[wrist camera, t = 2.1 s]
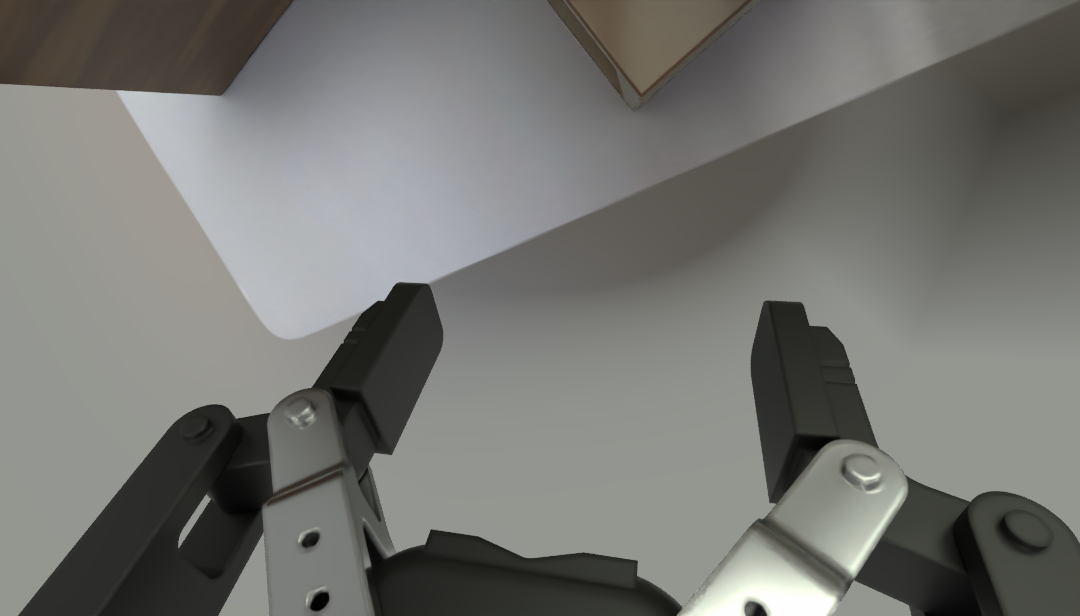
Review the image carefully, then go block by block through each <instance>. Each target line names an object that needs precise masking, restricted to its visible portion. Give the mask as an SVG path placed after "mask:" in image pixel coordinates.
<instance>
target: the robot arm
mask: <svg viewBox="0 0 1080 616" xmlns="http://www.w3.org/2000/svg"><path fill="white" fill-rule="evenodd" d="M442 343H443V329H442V325H441V321H440V318H439V314H438V311H437V308H436V304H435V301H434V298H433V294H432V291H431V288H430V286H429V285H428V284H426V283H405V282H398V283H397V284H395V286H394V287H393V288H392V290H391V292H390V293H389V295H388V296H387V298H386V299H385V301H377V302H376V303H375V304H373V305H372V306H371V307H370V308H368V309H367V310H366V311H364V312H363V313H362V314H361V316H360V317H359V319H358V320H357V322H356V323H355V325H354V326H353V327H352V331H351V332H349V333H348V335H347V336H346V338H345V339H344V343H343V344H341V345H340V347H339V348H338V350H337V351H336V353H335V354H334V355H333V357H332V359H331V360H330V361H329V363H328V364H327V366H326V367H325V369H324V370H323V372H322V373H321V375H320V376H319V378H318V379H317V381H316V382H315V384H314V385H313V387H312V388H308V389H303V390H300V391H297V392H295V393H292V394H291V395H289V396H287V397H286V398H284V399H283V400H281V401H280V402H279V403H278V404H277V405H276V406H275V408H274V409H273V410H272V412H271V413H266V414H260V415H255V416H249V417H244V418H238V419H236V418H235V417H234V415H233V414H232V413H231V411H230V410H229V409H228V408H227V407H225V406H223V405H217V404H215V405H206V406H203V407H200V408H197V409H194V410H192V411H191V412H188V413H187V414H185V415H184V416H183V417H181V418H180V419H178V420H177V421H176V422H175V423H174V424H173V425H172V426H171V427H170V428H169V429H168V431H167V432H166V433H165V434H164V435H163V437H162V438H161V439H160V440H159V442H158V443H157V444H156V446H155V447H154V448H153V449H152V450H151V452H150V453H149V454H148V456H147V457H146V458H145V459H144V460H143V462H142V463H141V464H140V465H139V466H138V468H137V469H136V470H135V471H134V473H133V474H132V475H131V476H130V478H129V479H128V480H127V482H126V483H125V484H124V485H123V486H122V488H121V489H120V490H119V491H118V493H117V494H116V495H115V496H114V498H113V499H112V500H111V501H110V503H109V504H108V505H107V506H106V507H105V509H104V510H103V511H102V513H101V514H100V515H99V516H98V517H97V519H96V520H95V521H94V522H93V523H92V525H91V526H90V527H89V528H88V530H87V531H86V532H85V533H84V535H83V536H82V537H81V539H80V540H79V541H78V542H77V543H76V545H75V546H74V547H73V548H72V550H71V551H70V552H69V553H68V555H67V556H66V557H65V558H64V560H63V561H62V562H61V563H60V564H59V566H58V567H57V568H56V569H55V571H54V572H53V573H52V575H51V576H50V577H49V578H48V579H47V581H46V582H45V583H44V584H43V586H42V587H41V588H40V589H39V590H38V592H37V593H36V594H35V595H34V597H33V598H32V599H31V600H30V602H29V603H28V604H27V605H26V607H25V608H24V609H23V611H22V612H21V613H20V614H19V615H18V616H218V615H219V613H220V611H221V609H222V607H223V606H224V604H225V602H226V600H227V598H228V597H229V595H230V593H231V591H232V589H233V587H234V585H235V584H236V582H237V580H238V578H239V576H240V574H241V573H242V570H243V569H244V567H245V565H246V563H247V562H248V560H249V558H250V556H251V554H252V552H253V550H254V549H255V547H256V545H257V543H258V541H259V540H260V538H261V536H262V534H263V532H264V544H265V558H266V571H267V585H268V600H269V614H270V616H832V615H833V613H834V612H835V610H836V608H837V607H838V605H839V604H840V602H841V601H842V599H843V597H844V596H845V594H846V592H847V591H848V589H849V588H850V585H851V584H852V582H853V580H855V581H857V582H859V583H861V584H863V585H866V586H868V587H870V588H872V589H874V590H877V591H879V592H881V593H883V594H886V595H888V596H890V597H892V598H894V599H897V600H899V601H901V602H904V603H906V604H908V605H909V607H910V611H911V615H912V616H1080V543H1079V542H1078V540H1077V538H1076V537H1075V535H1074V534H1073V532H1072V531H1071V530H1070V529H1069V527H1068V526H1067V525H1066V524H1065V523H1064V522H1063V521H1062V520H1061V519H1059V518H1058V517H1057V516H1056V515H1055V514H1053V513H1052V512H1050V511H1049V510H1048V509H1046V508H1045V507H1043V506H1041V505H1040V504H1038V503H1036V502H1034V501H1032V500H1030V499H1027V498H1025V497H1022V496H1019V495H1016V494H1012V493H1008V492H999V491H992V492H986V493H982V494H980V495H978V496H976V497H975V498H974V499H973V500H972V501H971V502H969V501H966V500H963V499H960V498H958V497H955V496H952V495H950V494H947V493H944V492H941V491H938V490H936V489H933V488H930V487H927V486H925V485H923V484H920V483H918V482H916V481H914V480H912V479H910V478H909V477H907V476H906V475H905V474H904V472H903V470H902V469H901V468H900V466H899V465H898V464H897V463H896V462H895V461H894V459H893V458H891V457H890V456H889V455H888V454H886V453H885V452H883V451H882V450H880V449H879V447H878V445H877V443H876V440H875V437H874V434H873V431H872V428H871V425H870V422H869V419H868V416H867V413H866V410H865V407H864V404H863V401H862V399H861V396H860V393H859V390H858V387H857V384H855V378H854V375H853V372H852V369H851V368H850V367H849V365H850V364H849V360H848V357H847V355H846V351H845V348H844V346H843V344H842V343H841V342H840V341H839V340H838V338H836V336H835V335H834V334H833V333H832V332H831V331H830V330H829V329H828V328H827V327H819V326H809V323H808V319H807V316H806V312H805V309H804V305H803V304H802V303H801V302H785V301H765V302H764V303H763V306H762V310H761V314H760V318H759V322H758V327H757V331H756V335H755V339H754V343H753V348H752V354H751V378H752V385H753V392H754V398H755V406H756V412H757V420H758V427H759V433H760V440H761V447H762V454H763V461H764V468H765V475H766V482H767V489H768V496H769V502H770V503H776V505H775V507H774V508H773V509H772V510H771V511H770V513H769V514H768V515H767V516H766V517H765V518H764V519H758V520H756V521H755V522H754V523H753V524H752V525H751V526H750V527H749V528H748V529H747V531H746V532H745V533H744V534H743V536H742V537H741V538H740V539H739V540H738V542H737V543H736V544H735V545H734V546H733V548H732V549H731V550H730V551H729V553H728V554H727V555H726V556H725V557H724V558H723V560H722V561H721V562H720V563H719V565H718V566H717V567H716V568H715V569H714V571H713V572H712V573H711V574H710V576H709V577H708V578H707V579H706V580H705V582H704V583H703V584H702V585H701V587H700V588H699V589H698V590H697V591H696V593H695V594H694V595H693V596H692V597H691V599H690V600H689V601H688V602H687V603H686V605H685V606H684V607H682V606H681V605H680V604H679V603H678V602H677V601H676V600H675V599H674V598H672V597H671V596H670V595H668V594H667V593H666V592H664V591H663V590H662V589H661V588H659V587H657V586H656V585H654V584H652V583H651V582H649V581H647V580H645V579H643V578H640V577H638V576H637V563H638V561H636V560H629V559H622V558H616V557H609V556H603V555H596V554H589V553H576V554H566V555H558V556H549V557H541V558H524V557H521V556H519V555H517V554H515V553H513V552H511V551H509V550H506V549H504V548H502V547H500V546H498V545H495V544H493V543H491V542H489V541H487V540H485V539H482V538H480V537H478V536H471V535H464V534H458V533H451V532H444V531H438V530H431V531H430V534H429V537H428V539H427V542H426V544H425V545H420V546H416V547H413V548H409V549H406V550H403V551H401V552H398V553H396V551H395V549H394V546H393V544H392V541H391V539H390V536H389V533H388V530H387V526H386V522H385V518H384V515H383V511H382V507H381V504H380V500H379V496H378V493H377V489H376V485H375V481H374V478H373V474H372V470H371V468H370V466H369V462H370V460H371V458H372V456H373V454H374V453H380V454H389V455H392V453H393V451H394V449H395V447H396V445H397V443H398V440H399V438H400V436H401V434H402V432H403V429H404V428H405V426H406V423H407V421H408V419H409V417H410V415H411V413H412V410H413V408H414V406H415V404H416V402H417V400H418V398H419V396H420V393H421V391H422V389H423V387H424V385H425V383H426V380H427V378H428V376H429V374H430V372H431V370H432V368H433V366H434V364H435V361H436V359H437V357H438V355H439V353H440V351H441V347H442ZM206 494H207V495H208V496H209V497H210V498H211V500H210V502H209V503H208V505H207V506H206V508H205V509H204V511H203V513H202V514H201V515H200V517H199V518H198V520H197V522H196V523H195V525H194V526H193V528H192V529H191V531H190V533H189V534H188V535H187V537H186V539H185V540H184V541H183V543H182V545H181V546H180V548H179V549H178V540H179V536H180V533H181V532H182V530H183V528H184V526H185V525H186V523H187V522H188V520H189V519H190V517H191V516H192V514H193V513H194V511H195V510H196V508H197V507H198V505H199V504H200V502H201V501H202V499H203V498H204V496H205V495H206Z"/></svg>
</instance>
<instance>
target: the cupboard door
mask: <svg viewBox="0 0 1080 616" xmlns="http://www.w3.org/2000/svg"><path fill="white" fill-rule="evenodd" d="M290 2H291V0H0V84H14V85H34V86H53V87H69V88H89V89H107V90H124V91H142V92H161V93H179V94H197V95H215V96H220V95H221V94H222V93H223V92H224V90H225V89H226V88H227V86H228V85H229V84H230V82H231V81H232V80H233V78H234V77H235V76H236V74H237V73H238V72H239V70H240V69H241V67H242V66H243V65H244V63H245V62H246V61H247V59H248V58H249V57H250V55H251V54H252V53H253V51H254V50H255V49H256V47H257V46H258V45H259V43H260V42H261V41H262V39H263V38H264V37H265V35H266V34H267V33H268V31H269V30H270V29H271V27H272V26H273V25H274V23H275V22H276V21H277V19H278V18H279V17H280V15H281V14H282V13H283V11H284V10H285V9H286V7H287V6H288V4H289V3H290Z"/></svg>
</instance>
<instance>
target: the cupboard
mask: <svg viewBox="0 0 1080 616" xmlns="http://www.w3.org/2000/svg"><path fill="white" fill-rule="evenodd" d="M547 1H548V3H549V4H550V5H551V6H552V8H553V9H554V10H555V12H556V13H557V14H558V15H559V17H560V18H561V19H562V21H563V22H564V23H565V24H566V26H567V27H568V28H569V30H570V31H571V32H572V34H573V35H574V36H575V37H576V39H577V40H578V41H579V43H580V44H581V45H582V46H583V48H584V49H585V50H586V52H587V53H588V54H589V55H590V57H591V58H592V59H593V61H594V62H595V63H596V65H597V66H598V67H599V68H600V70H601V71H602V72H603V74H604V75H605V76H606V77H607V79H608V80H609V81H610V83H611V84H612V85H613V86H614V88H615V89H616V90H617V92H618V93H619V94H620V96H621V97H622V98H623V99H624V101H625V102H626V103H627V105H628V106H629V107H630V108H631V110H632V111H633V112H634V111H635V110H636V109H637V108H639V107H640V106H641V105H642V104H643V103H644V102H645V101H646V100H648V99H649V98H650V97H651V96H652V95H653V94H654V93H656V92H657V91H658V90H659V89H660V88H661V87H662V86H664V85H665V84H666V83H667V82H668V81H669V80H670V79H672V78H673V77H674V76H675V75H676V74H677V73H678V72H680V71H681V70H682V69H683V68H684V67H685V66H686V65H687V64H689V63H690V62H691V61H692V60H693V59H694V58H695V57H697V56H698V55H699V54H700V53H701V52H702V51H703V50H705V49H706V48H707V47H708V46H709V45H710V44H711V43H713V42H714V41H715V40H716V39H717V38H718V37H719V36H721V35H722V34H723V33H724V32H725V31H726V30H727V29H729V28H730V27H731V26H732V25H733V24H734V23H735V22H736V21H738V20H739V19H740V18H741V17H742V16H743V15H744V14H746V13H747V12H748V11H749V10H750V9H751V8H752V7H754V6H755V5H756V4H757V3H758V2H759V1H760V0H547Z"/></svg>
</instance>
